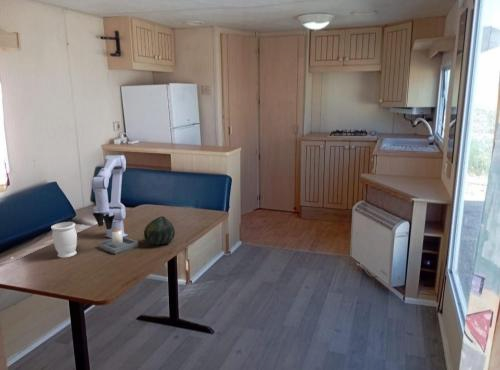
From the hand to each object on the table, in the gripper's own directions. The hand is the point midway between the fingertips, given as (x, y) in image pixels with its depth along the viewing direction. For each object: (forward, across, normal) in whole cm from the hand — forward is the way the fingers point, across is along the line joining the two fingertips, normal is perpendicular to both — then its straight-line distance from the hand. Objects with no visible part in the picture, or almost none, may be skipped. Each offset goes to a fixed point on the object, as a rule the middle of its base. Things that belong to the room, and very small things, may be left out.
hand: (105, 227), depth 197 cm
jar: (+11, -7, -17) cm, 21 cm away
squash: (+11, +17, +20) cm, 28 cm away
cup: (+10, +4, +3) cm, 11 cm away
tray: (+10, +4, +4) cm, 12 cm away
